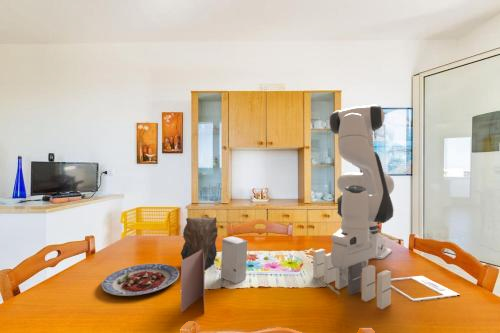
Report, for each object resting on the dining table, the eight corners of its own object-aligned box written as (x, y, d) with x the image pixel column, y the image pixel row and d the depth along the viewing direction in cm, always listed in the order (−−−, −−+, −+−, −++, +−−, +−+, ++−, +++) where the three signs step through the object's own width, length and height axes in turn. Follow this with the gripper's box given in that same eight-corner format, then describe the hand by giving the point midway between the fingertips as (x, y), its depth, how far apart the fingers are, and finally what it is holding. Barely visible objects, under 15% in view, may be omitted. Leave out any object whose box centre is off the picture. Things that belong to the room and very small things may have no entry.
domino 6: (376, 306, 79) (377, 273, 79) (385, 301, 82) (385, 269, 82) (382, 309, 77) (382, 275, 77) (390, 304, 80) (391, 271, 80)
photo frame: (459, 293, 85) (413, 299, 82) (459, 297, 85) (413, 302, 82) (422, 275, 100) (380, 279, 96) (422, 278, 100) (380, 282, 96)
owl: (179, 265, 110) (179, 218, 110) (201, 257, 120) (201, 213, 120) (200, 273, 102) (200, 222, 102) (222, 263, 113) (222, 217, 113)
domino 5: (361, 299, 83) (361, 268, 83) (370, 295, 86) (370, 264, 86) (366, 301, 82) (366, 270, 81) (375, 297, 84) (375, 266, 84)
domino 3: (335, 287, 91) (335, 258, 91) (343, 283, 94) (344, 256, 94) (339, 289, 90) (339, 260, 90) (348, 285, 93) (348, 257, 93)
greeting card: (200, 293, 86) (200, 248, 86) (220, 298, 83) (220, 251, 83) (178, 311, 76) (178, 260, 75) (200, 317, 73) (200, 264, 73)
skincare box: (220, 277, 98) (220, 238, 98) (231, 272, 103) (231, 235, 103) (236, 284, 93) (236, 243, 93) (247, 278, 98) (247, 239, 97)
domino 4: (347, 293, 87) (348, 263, 87) (356, 289, 90) (356, 260, 90) (352, 295, 86) (352, 264, 86) (361, 291, 89) (361, 261, 88)
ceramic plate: (192, 273, 102) (192, 266, 102) (146, 308, 78) (146, 298, 78) (139, 265, 111) (139, 258, 111) (83, 293, 87) (83, 284, 86)
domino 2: (323, 281, 95) (323, 254, 95) (332, 278, 98) (332, 252, 98) (327, 283, 94) (327, 256, 94) (336, 280, 97) (336, 253, 97)
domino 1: (313, 277, 99) (313, 250, 99) (321, 273, 102) (321, 248, 102) (316, 278, 98) (316, 252, 98) (325, 275, 101) (325, 249, 101)
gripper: (363, 228, 96) (363, 265, 96) (327, 237, 84) (327, 279, 85) (380, 231, 91) (380, 271, 91) (344, 241, 79) (344, 287, 79)
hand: (354, 275), depth 88 cm, fingers open, 8 cm apart
